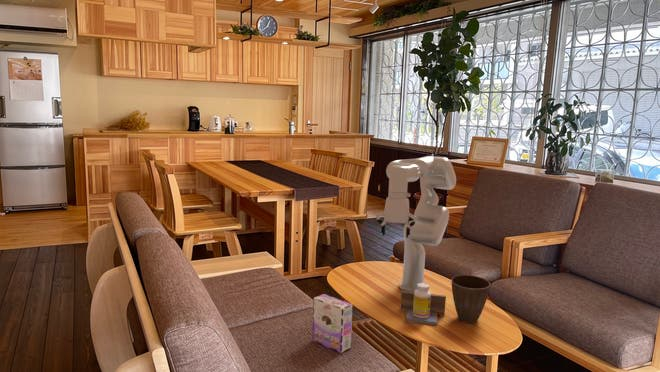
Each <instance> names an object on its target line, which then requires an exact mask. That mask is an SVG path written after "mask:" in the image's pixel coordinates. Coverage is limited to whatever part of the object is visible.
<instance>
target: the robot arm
mask: <svg viewBox="0 0 660 372" xmlns="http://www.w3.org/2000/svg"><path fill="white" fill-rule="evenodd" d="M385 173H386V177H387V178H388V179H389V180H388V196H387V197H386V200H385V204H384V210H383V211H381V212H378V213H376V214H375V218H376V220H377V222H378V223H379V225H380V227H381V228H380V229H381V232H380V233H381V234H382V236H383V237H384V236H385V235H386V224H387V223H391V224H404V226H403V231H402V232H403V239H404V240H403V241H404V249H403V250H404V251H403V252H404V253H403V265H402V266H403V269H402V281H399V284H398V287H399V288H400V290H401V291H407V292H415V290H417V284H418V283H424V278H425V276H424V274H425V263H426V261H425V260H426V250H425V247H424V245H429V246H433V247H434V246H435V247H436V246H438V245H439V244H440V243H441V242H442V239H443V237H444V234H445V233H446V229H447V226H448V223H449V219H450V212H449V209H448V208H447V207H446V206H443V205H438V204H439V201H440V199H439V197H438V194H437V193H436V191H435V190H434V189H440V190H450V191H451V190H453V189H454V188H455V187H456V184H457V177H456V172H455V170H454V166H453V164H452V162H451V161H450V159H449V158H448V157H445V156H433V155H426V156H422V157H419V158H409V159H408V158H407V159H397V160H393V161H391V162H389V164H387V167H386V169H385ZM418 180H419V183H420V185H419V186H420V192H421V196H420V197H419V202H418V203H417V205H416V208H415V210H414V214H412V213H411V212H410V200H409V198H410V197H411V193H410V192H408V187H409V186H408V185H409V183H413V182H416V181H418ZM382 216H383V220H382V219H381V218H380V217H382ZM410 218H411V219H413V220H410Z"/></svg>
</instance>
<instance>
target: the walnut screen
mask: <svg viewBox="0 0 660 372" xmlns="http://www.w3.org/2000/svg"><path fill="white" fill-rule="evenodd" d="M446 299H447V296H446V295H444V294H443V295H442V294H434V293H431V302H430V312H434V313H437V316H439V317H440V316H441V317H442V316H443V317H445V314H446V302H447V301H446ZM413 303H414V292H408V291H404V290H401V292H400V307H399V308H400V309H399V311H400V312H406V313H407V310H413Z"/></svg>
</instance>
